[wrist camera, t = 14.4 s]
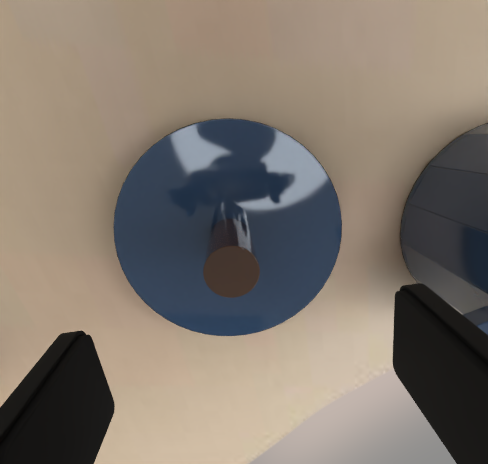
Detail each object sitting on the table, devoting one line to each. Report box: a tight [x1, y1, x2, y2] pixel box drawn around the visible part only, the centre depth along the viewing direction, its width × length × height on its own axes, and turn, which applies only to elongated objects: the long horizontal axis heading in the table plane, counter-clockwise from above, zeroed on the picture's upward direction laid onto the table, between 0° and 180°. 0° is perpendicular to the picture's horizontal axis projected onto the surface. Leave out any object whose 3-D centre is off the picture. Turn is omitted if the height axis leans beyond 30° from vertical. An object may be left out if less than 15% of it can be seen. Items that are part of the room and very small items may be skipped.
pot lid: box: [114, 119, 342, 336], centre depth 19 cm, size 16×16×7 cm
